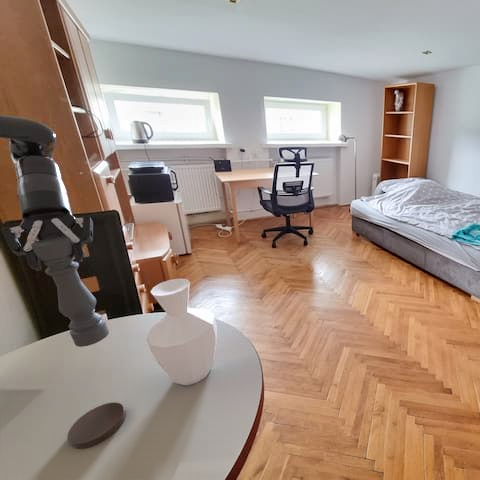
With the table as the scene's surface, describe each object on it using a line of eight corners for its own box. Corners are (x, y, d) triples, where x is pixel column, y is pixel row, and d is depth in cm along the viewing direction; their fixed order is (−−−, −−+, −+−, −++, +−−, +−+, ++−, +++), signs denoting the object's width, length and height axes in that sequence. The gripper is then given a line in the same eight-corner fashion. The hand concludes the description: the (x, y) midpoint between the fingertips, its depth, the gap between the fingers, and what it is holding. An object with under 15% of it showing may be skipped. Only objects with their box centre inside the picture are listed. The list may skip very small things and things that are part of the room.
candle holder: (93, 346, 66) (50, 246, 56) (67, 346, 66) (19, 246, 56) (115, 329, 71) (79, 235, 62) (91, 329, 71) (51, 235, 62)
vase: (212, 392, 67) (187, 303, 58) (149, 397, 66) (114, 306, 57) (232, 349, 81) (215, 270, 71) (180, 352, 80) (156, 273, 71)
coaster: (57, 451, 55) (54, 446, 55) (92, 409, 64) (89, 404, 63) (107, 445, 56) (105, 440, 56) (135, 404, 65) (133, 400, 64)
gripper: (91, 203, 71) (107, 262, 67) (5, 213, 63) (16, 282, 58) (82, 185, 65) (99, 248, 61) (-15, 193, 57) (-4, 268, 53)
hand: (58, 264), depth 60 cm, fingers closed on candle holder, 5 cm apart
